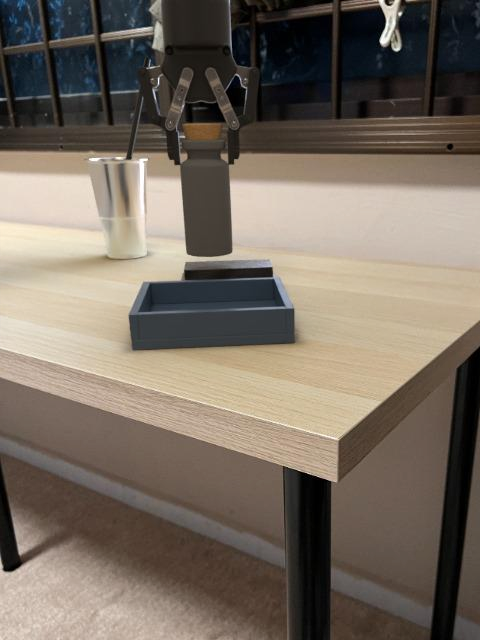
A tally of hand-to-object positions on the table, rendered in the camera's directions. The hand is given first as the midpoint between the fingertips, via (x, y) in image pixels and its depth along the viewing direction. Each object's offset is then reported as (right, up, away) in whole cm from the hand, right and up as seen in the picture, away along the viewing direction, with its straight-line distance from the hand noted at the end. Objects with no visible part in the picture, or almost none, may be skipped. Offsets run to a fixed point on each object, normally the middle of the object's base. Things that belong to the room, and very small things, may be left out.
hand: (204, 164), depth 73 cm
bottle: (0, -10, +4) cm, 11 cm away
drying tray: (+2, -20, -8) cm, 22 cm away
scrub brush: (+2, -14, +6) cm, 16 cm away
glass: (-17, -5, +30) cm, 35 cm away
